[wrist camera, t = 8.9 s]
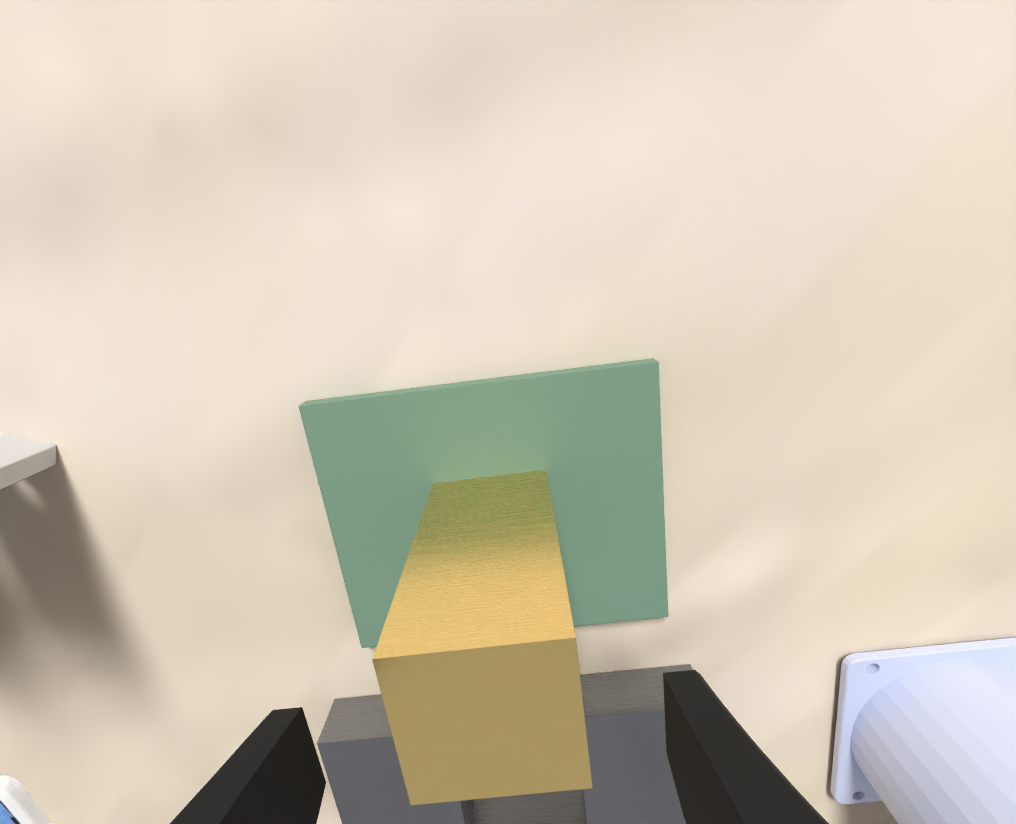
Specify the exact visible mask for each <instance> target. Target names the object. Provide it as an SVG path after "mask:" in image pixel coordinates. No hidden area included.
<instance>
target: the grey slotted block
mask: <svg viewBox="0 0 1016 824" xmlns="http://www.w3.org/2000/svg"><path fill="white" fill-rule="evenodd" d="M686 670H693V669H692V667H691V665H690V664H689V665H679V666H669V667H659V668H649V669H638V670H628V671H618V672H608V673H598V674H588V675H580V681H581V690H582V699H583V708H584V717H585V726H586V735H587V744H588V753H589V762H590V771H591V779H592V788H590V789H582V790H572V791H561V792H550V793H539V794H528V795H516V796H505V797H494V798H483V799H472V800H462V801H451V802H440V803H430V804H419V805H411V804H410V800H409V797H408V793H407V789H406V785H405V781H404V778H403V774H402V770H401V766H400V762H399V759H398V755H397V751H396V747H395V743H394V740H393V736H392V732H391V728H390V724H389V721H388V717H387V713H386V709H385V705H384V702H383V698H382V695H374V696H364V697H354V698H344V699H335V700H334V702H333V705H332V707H331V710H330V712H329V715H328V717H327V720H326V722H325V725H324V727H323V730H322V732H321V735H320V737H319V740H318V742H317V745H318V748H319V751H320V754H321V757H322V761H323V764H324V767H325V770H326V773H327V776H328V780H329V783H330V786H331V789H332V792H333V795H334V799H335V802H336V805H337V808H338V811H339V814H340V818H341V821H342V824H686V821H685V818H684V816H683V812H682V809H681V805H680V801H679V798H678V794H677V790H676V787H675V783H674V779H673V775H672V772H671V768H670V764H669V760H668V756H667V753H666V733H665V710H664V687H663V673H665V672H676V671H686Z"/></svg>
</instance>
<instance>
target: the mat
mask: <svg viewBox="0 0 1016 824" xmlns="http://www.w3.org/2000/svg"><path fill="white" fill-rule="evenodd" d="M299 410H300V414H301V417H302V421H303V425H304V429H305V433H306V436H307V440H308V444H309V448H310V452H311V456H312V459H313V463H314V467H315V471H316V475H317V479H318V482H319V486H320V490H321V494H322V498H323V501H324V505H325V509H326V513H327V517H328V521H329V524H330V528H331V532H332V536H333V540H334V544H335V547H336V551H337V555H338V559H339V563H340V566H341V570H342V574H343V578H344V582H345V586H346V589H347V593H348V597H349V601H350V605H351V609H352V612H353V616H354V620H355V624H356V628H357V632H358V635H359V639H360V643H361V647H362V648H367V647H377V644H378V641H379V638H380V636H381V633H382V630H383V627H384V624H385V621H386V618H387V615H388V612H389V609H390V606H391V604H392V601H393V598H394V595H395V592H396V589H397V586H398V583H399V580H400V577H401V575H402V572H403V569H404V566H405V563H406V560H407V557H408V554H409V551H410V548H411V545H412V543H413V540H414V537H415V534H416V531H417V528H418V525H419V522H420V519H421V516H422V513H423V511H424V508H425V505H426V502H427V499H428V496H429V493H430V490H431V487H432V484H433V483H440V482H448V481H457V480H465V479H473V478H481V477H490V476H498V475H506V474H515V473H523V472H531V471H540V470H546V472H547V478H548V483H549V489H550V495H551V500H552V506H553V512H554V518H555V523H556V529H557V535H558V540H559V546H560V552H561V557H562V563H563V569H564V574H565V580H566V586H567V592H568V597H569V603H570V609H571V614H572V620H573V626H582V625H592V624H602V623H611V622H621V621H631V620H641V619H651V618H660V617H668V600H667V574H666V547H665V521H664V495H663V468H662V442H661V415H660V389H659V363H658V361H656V360H655V359H646V360H638V361H629V362H621V363H613V364H605V365H597V366H589V367H581V368H573V369H564V370H556V371H548V372H540V373H532V374H524V375H516V376H508V377H500V378H491V379H483V380H475V381H467V382H459V383H451V384H443V385H435V386H426V387H418V388H410V389H402V390H394V391H386V392H378V393H370V394H361V395H353V396H345V397H337V398H329V399H321V400H313V401H305V402H304V403H303V404H301V405H300V406H299Z"/></svg>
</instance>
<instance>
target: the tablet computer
mask: <svg viewBox="0 0 1016 824" xmlns="http://www.w3.org/2000/svg"><path fill="white" fill-rule="evenodd" d="M0 824H53V823H52V822H51V821H50V819H49V818H48V817H47V816H46V814H45V813H44V812H43V810H42V809H41V808H40V806H39V805H38V804H37V803H36V801H35V800H34V799H33V798H32V796H31V795H30V794H29V792H28V791H27V790H26V788H25V787H24V786H23V785H22V784H21V783H20V782H19V781H17V780H16V779H15V778H13V777H11V776H7V775H1V774H0Z"/></svg>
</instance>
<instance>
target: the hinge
mask: <svg viewBox="0 0 1016 824" xmlns="http://www.w3.org/2000/svg"><path fill="white" fill-rule="evenodd" d="M56 447H57V446H56V445H54V444H50V443H46V442H42V441H38V440H34V439H29V438H25V437H21V436H17V435H13V434H9V433H5V432H1V431H0V489H3V488H5V487H7V486H9V485H12V484H14V483H16V482H18V481H20V480H23V479H25V478H27V477H29V476H32V475H34V474H36V473H38V472H41V471H43V470H45V469H47V468H49V467H52V466H54V465H56Z"/></svg>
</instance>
